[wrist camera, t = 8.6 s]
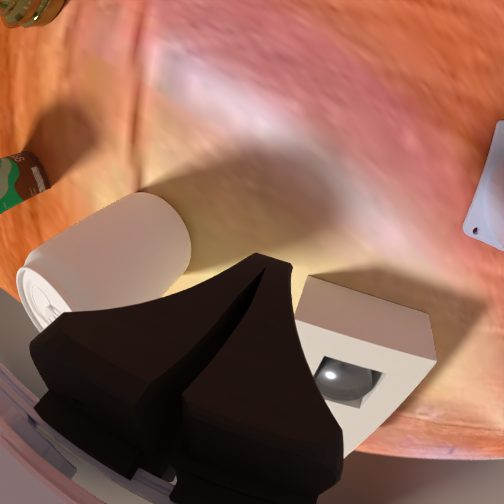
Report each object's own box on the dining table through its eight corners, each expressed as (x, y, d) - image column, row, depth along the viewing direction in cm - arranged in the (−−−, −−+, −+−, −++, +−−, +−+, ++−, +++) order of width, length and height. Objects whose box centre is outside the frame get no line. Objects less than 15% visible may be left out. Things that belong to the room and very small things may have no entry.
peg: (382, 331, 21) (381, 375, 18) (362, 363, 24) (357, 405, 20) (334, 316, 22) (326, 359, 18) (319, 350, 24) (308, 392, 21)
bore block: (428, 314, 20) (437, 361, 16) (343, 427, 29) (336, 463, 25) (307, 275, 22) (293, 318, 18) (261, 402, 31) (246, 438, 27)
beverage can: (132, 171, 23) (8, 232, 13) (211, 227, 23) (106, 329, 13) (110, 241, 27) (17, 312, 17) (175, 292, 27) (94, 386, 17)
